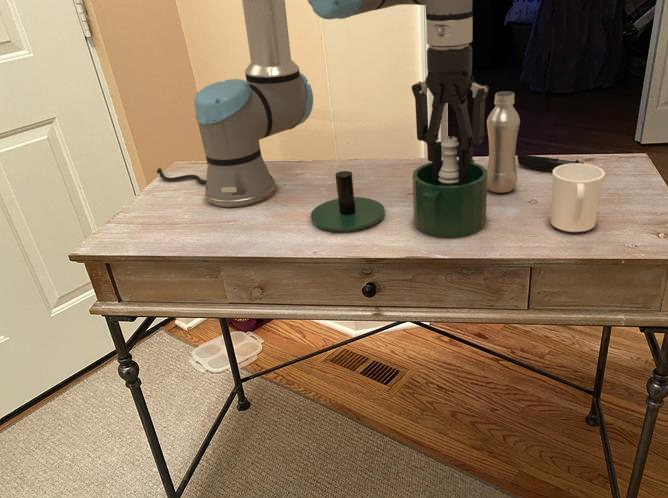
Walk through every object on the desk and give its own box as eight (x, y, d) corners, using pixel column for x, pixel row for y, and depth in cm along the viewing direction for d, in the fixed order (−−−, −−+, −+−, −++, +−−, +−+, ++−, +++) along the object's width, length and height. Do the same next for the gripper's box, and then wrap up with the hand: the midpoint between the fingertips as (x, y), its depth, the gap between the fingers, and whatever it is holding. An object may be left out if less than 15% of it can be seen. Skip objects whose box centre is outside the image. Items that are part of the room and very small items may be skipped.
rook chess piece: (438, 176, 115) (437, 135, 111) (462, 176, 115) (462, 134, 110) (437, 185, 111) (437, 143, 107) (462, 185, 111) (462, 142, 107)
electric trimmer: (520, 164, 142) (521, 150, 140) (587, 172, 134) (589, 158, 132) (514, 169, 139) (514, 156, 137) (582, 178, 132) (583, 164, 130)
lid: (296, 226, 120) (290, 182, 115) (336, 198, 131) (331, 156, 126) (361, 239, 114) (357, 193, 109) (397, 208, 125) (395, 165, 120)
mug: (546, 214, 118) (551, 163, 112) (594, 215, 116) (601, 163, 111) (549, 240, 109) (554, 186, 103) (601, 241, 107) (609, 186, 102)
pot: (396, 237, 114) (393, 187, 108) (437, 198, 127) (436, 152, 122) (464, 250, 108) (465, 197, 102) (500, 208, 122) (502, 159, 116)
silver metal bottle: (523, 190, 128) (529, 93, 117) (498, 199, 125) (502, 100, 114) (502, 181, 133) (506, 87, 122) (478, 189, 130) (480, 94, 119)
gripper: (391, 48, 101) (398, 181, 114) (492, 51, 94) (488, 193, 106) (411, 39, 107) (416, 167, 119) (508, 42, 99) (502, 178, 112)
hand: (450, 179), depth 113 cm, fingers closed on rook chess piece, 4 cm apart
